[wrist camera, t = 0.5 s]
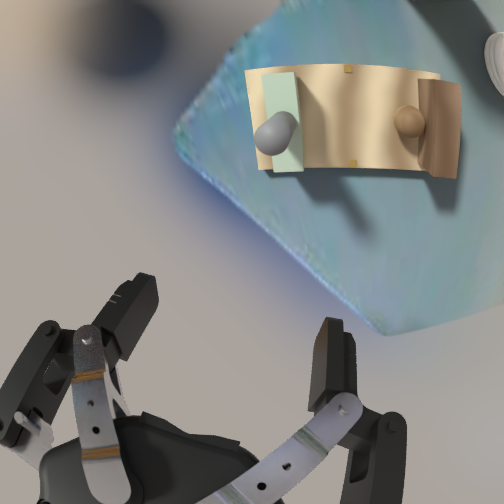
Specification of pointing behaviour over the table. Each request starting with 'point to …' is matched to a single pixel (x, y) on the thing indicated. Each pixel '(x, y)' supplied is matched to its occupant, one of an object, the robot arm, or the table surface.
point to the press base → (370, 117)
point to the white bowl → (495, 60)
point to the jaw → (282, 123)
